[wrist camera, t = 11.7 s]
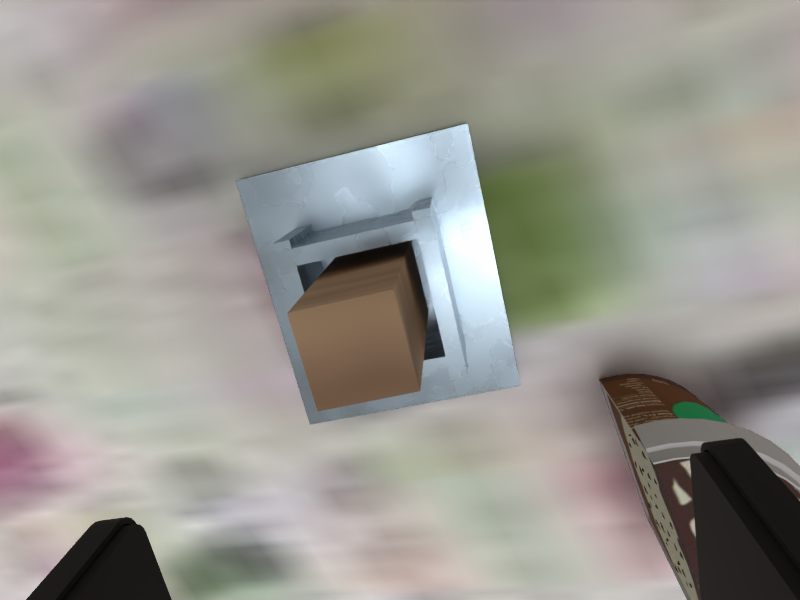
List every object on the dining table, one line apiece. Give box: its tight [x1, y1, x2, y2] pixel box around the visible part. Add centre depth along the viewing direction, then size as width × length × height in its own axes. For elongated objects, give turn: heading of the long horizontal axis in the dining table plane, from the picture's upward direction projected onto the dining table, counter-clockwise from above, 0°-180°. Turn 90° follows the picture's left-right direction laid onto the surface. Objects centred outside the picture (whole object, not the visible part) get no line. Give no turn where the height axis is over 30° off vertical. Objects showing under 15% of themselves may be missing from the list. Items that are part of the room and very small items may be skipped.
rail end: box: [287, 240, 429, 411], centre depth 27 cm, size 4×4×10 cm
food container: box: [599, 374, 800, 600], centre depth 29 cm, size 12×6×10 cm, turn 22°
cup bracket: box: [236, 123, 521, 424], centre depth 30 cm, size 14×12×5 cm
